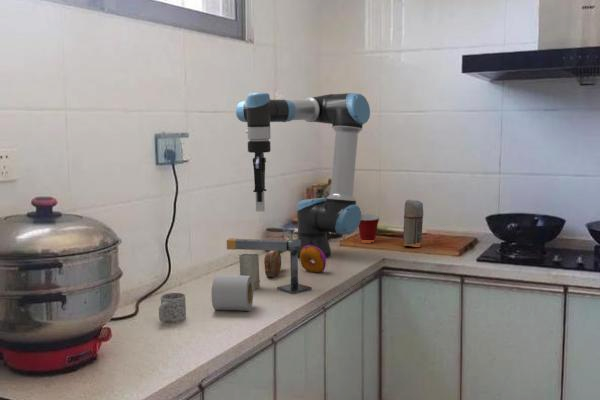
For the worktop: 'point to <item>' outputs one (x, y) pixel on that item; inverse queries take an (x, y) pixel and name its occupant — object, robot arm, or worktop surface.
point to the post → (294, 277)
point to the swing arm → (264, 244)
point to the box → (250, 267)
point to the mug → (172, 308)
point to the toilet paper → (232, 292)
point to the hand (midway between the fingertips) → (260, 211)
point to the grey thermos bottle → (413, 222)
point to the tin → (272, 263)
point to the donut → (315, 255)
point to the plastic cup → (368, 226)
